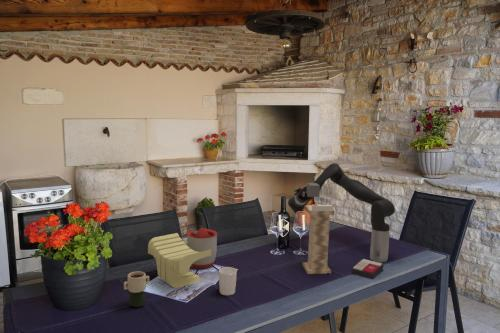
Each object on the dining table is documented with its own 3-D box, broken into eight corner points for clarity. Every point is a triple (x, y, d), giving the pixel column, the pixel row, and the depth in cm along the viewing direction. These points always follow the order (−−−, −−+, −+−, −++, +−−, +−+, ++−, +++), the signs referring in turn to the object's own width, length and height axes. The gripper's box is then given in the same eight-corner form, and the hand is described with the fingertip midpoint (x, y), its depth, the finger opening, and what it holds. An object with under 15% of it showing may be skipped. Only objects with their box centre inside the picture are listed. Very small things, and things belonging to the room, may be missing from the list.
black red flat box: (351, 267, 204) (362, 257, 216) (351, 275, 205) (362, 265, 216) (373, 272, 197) (383, 262, 209) (372, 281, 198) (383, 270, 210)
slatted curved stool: (148, 274, 197) (148, 238, 195) (177, 266, 207) (177, 232, 205) (179, 296, 174) (179, 256, 172) (210, 287, 185) (211, 249, 182)
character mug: (145, 298, 172) (145, 268, 171) (153, 304, 167) (153, 274, 165) (120, 305, 165) (120, 274, 164) (128, 312, 160) (127, 280, 158)
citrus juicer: (207, 256, 223) (208, 220, 220) (222, 267, 208) (222, 229, 205) (180, 261, 215) (180, 224, 212) (193, 272, 200) (194, 233, 197)
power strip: (331, 209, 202) (331, 203, 201) (332, 211, 199) (333, 204, 199) (311, 209, 200) (311, 203, 200) (312, 211, 198) (313, 204, 197)
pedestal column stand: (324, 264, 215) (327, 205, 211) (331, 273, 204) (334, 211, 199) (301, 264, 214) (304, 205, 210) (307, 274, 202) (310, 211, 198)
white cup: (229, 297, 175) (230, 275, 173) (214, 293, 179) (215, 271, 177) (239, 291, 181) (240, 269, 180) (225, 286, 185) (225, 265, 184)
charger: (310, 190, 229) (311, 180, 228) (319, 196, 213) (319, 185, 212) (302, 190, 228) (302, 180, 227) (309, 196, 212) (310, 185, 211)
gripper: (314, 203, 237) (322, 194, 221) (290, 203, 236) (297, 194, 220) (313, 190, 240) (321, 181, 224) (289, 191, 238) (296, 180, 222)
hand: (309, 187), depth 222 cm, fingers closed on charger, 3 cm apart
